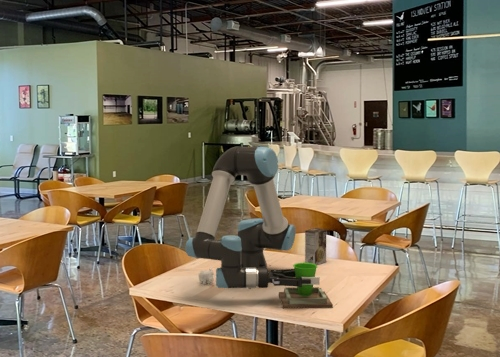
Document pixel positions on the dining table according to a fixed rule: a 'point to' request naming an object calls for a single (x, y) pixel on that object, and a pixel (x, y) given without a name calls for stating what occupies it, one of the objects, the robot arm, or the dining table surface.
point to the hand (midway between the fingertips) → (317, 277)
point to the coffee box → (315, 246)
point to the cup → (305, 271)
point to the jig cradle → (304, 299)
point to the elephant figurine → (206, 276)
